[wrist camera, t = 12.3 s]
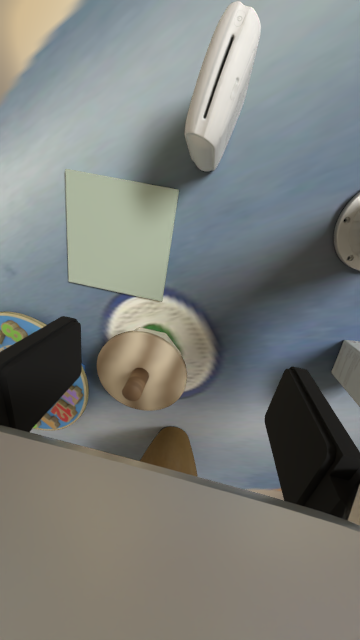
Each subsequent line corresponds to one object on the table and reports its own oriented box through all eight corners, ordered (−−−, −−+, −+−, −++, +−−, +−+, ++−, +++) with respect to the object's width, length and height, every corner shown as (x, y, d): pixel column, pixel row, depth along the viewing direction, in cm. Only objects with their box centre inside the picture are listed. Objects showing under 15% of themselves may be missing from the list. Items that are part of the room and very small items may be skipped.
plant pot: (195, 464, 57) (188, 546, 42) (140, 447, 57) (115, 522, 43) (212, 424, 51) (212, 504, 36) (151, 406, 51) (126, 477, 36)
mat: (179, 190, 34) (178, 189, 33) (162, 300, 41) (161, 301, 40) (67, 169, 35) (65, 168, 34) (70, 280, 42) (68, 281, 41)
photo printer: (220, 74, 28) (225, -30, 17) (250, 89, 28) (275, -5, 17) (188, 164, 32) (174, 129, 21) (214, 177, 32) (215, 149, 21)
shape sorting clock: (-3, 279, 44) (-34, 286, 39) (119, 368, 49) (107, 386, 43) (-40, 370, 56) (-67, 386, 51) (61, 435, 60) (46, 456, 55)
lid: (195, 343, 38) (192, 362, 32) (178, 415, 44) (173, 441, 39) (100, 321, 39) (81, 337, 33) (98, 395, 45) (82, 418, 40)
